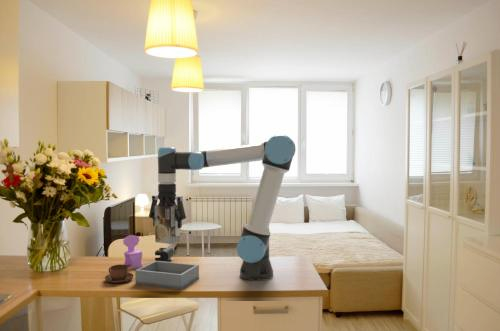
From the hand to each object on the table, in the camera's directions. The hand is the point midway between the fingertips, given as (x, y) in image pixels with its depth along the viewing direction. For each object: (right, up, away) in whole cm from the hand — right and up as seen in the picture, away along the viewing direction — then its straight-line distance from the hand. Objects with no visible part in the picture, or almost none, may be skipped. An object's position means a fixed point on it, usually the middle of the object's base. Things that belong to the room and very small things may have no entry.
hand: (167, 234), depth 180 cm
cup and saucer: (-21, -21, +2) cm, 30 cm away
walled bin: (0, -20, +1) cm, 20 cm away
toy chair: (-22, -20, +24) cm, 38 cm away
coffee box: (0, -3, 0) cm, 3 cm away
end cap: (-8, -19, +33) cm, 39 cm away
